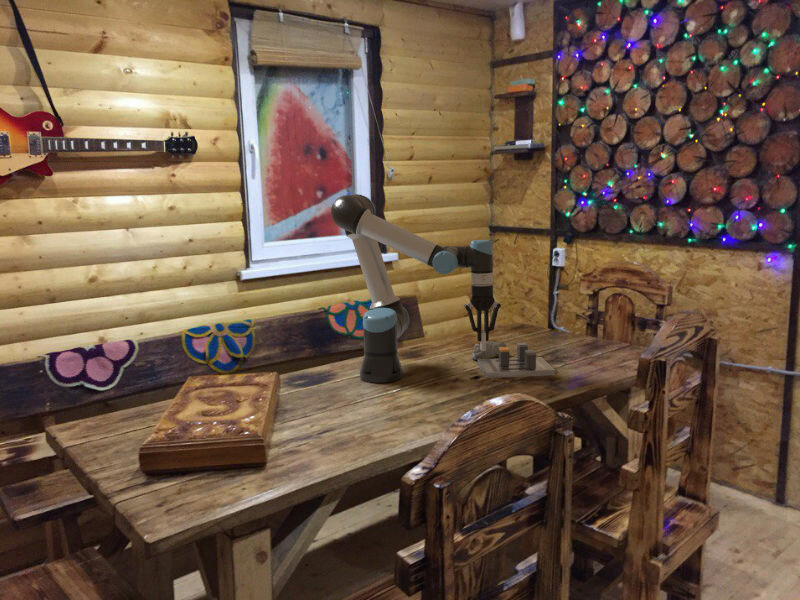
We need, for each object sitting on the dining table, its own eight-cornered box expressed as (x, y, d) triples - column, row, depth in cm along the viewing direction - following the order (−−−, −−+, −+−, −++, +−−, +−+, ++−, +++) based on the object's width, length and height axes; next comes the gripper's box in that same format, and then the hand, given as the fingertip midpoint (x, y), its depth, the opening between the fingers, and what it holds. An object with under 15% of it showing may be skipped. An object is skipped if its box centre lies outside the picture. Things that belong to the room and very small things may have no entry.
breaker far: (519, 360, 237) (519, 345, 236) (517, 357, 240) (517, 342, 239) (527, 360, 237) (527, 344, 236) (525, 357, 240) (525, 342, 239)
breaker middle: (500, 365, 231) (501, 349, 230) (498, 362, 234) (498, 347, 233) (509, 365, 231) (509, 349, 230) (506, 362, 235) (507, 346, 234)
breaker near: (527, 369, 226) (527, 352, 225) (524, 366, 230) (524, 350, 228) (535, 368, 226) (536, 352, 225) (533, 365, 230) (533, 349, 229)
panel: (486, 378, 224) (486, 372, 224) (477, 364, 241) (477, 359, 241) (555, 375, 226) (555, 369, 225) (541, 362, 242) (541, 356, 242)
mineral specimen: (496, 352, 257) (496, 336, 256) (508, 357, 251) (508, 340, 250) (464, 359, 250) (464, 341, 248) (476, 363, 243) (476, 345, 242)
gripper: (465, 287, 223) (466, 353, 227) (503, 285, 224) (503, 351, 228) (461, 283, 230) (463, 348, 234) (498, 282, 231) (499, 346, 235)
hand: (483, 350), depth 231 cm, fingers closed
